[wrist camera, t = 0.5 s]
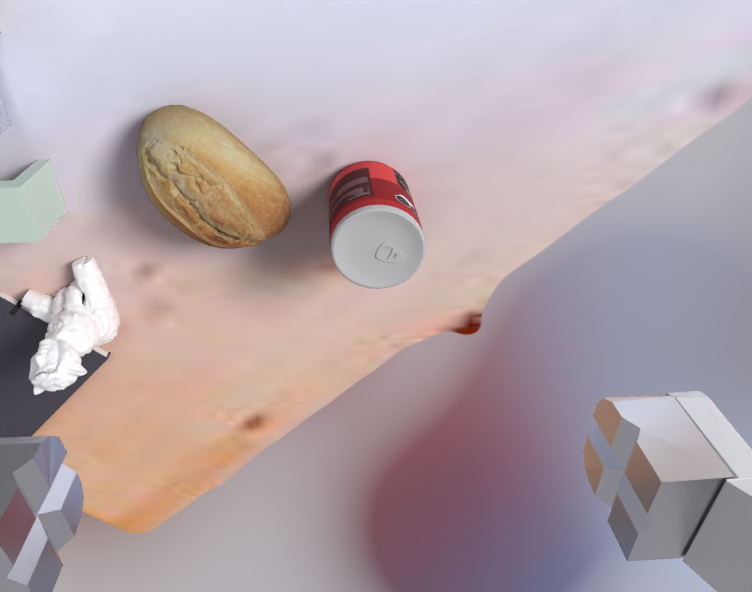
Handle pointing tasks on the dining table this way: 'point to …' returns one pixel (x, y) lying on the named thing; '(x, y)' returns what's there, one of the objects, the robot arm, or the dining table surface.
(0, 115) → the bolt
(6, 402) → the notebook
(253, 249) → the dining table surface
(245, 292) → the dining table surface
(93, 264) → the sitting furry creature
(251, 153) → the bread roll
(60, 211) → the pale green block
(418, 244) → the canned food
